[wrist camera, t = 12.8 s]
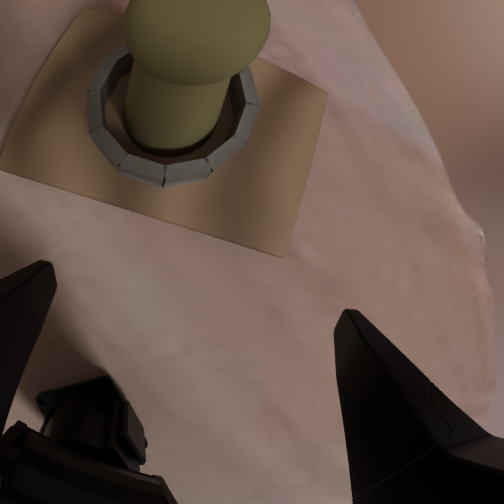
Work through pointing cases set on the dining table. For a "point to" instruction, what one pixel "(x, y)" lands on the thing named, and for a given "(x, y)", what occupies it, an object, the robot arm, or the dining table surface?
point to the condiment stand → (164, 168)
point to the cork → (186, 67)
